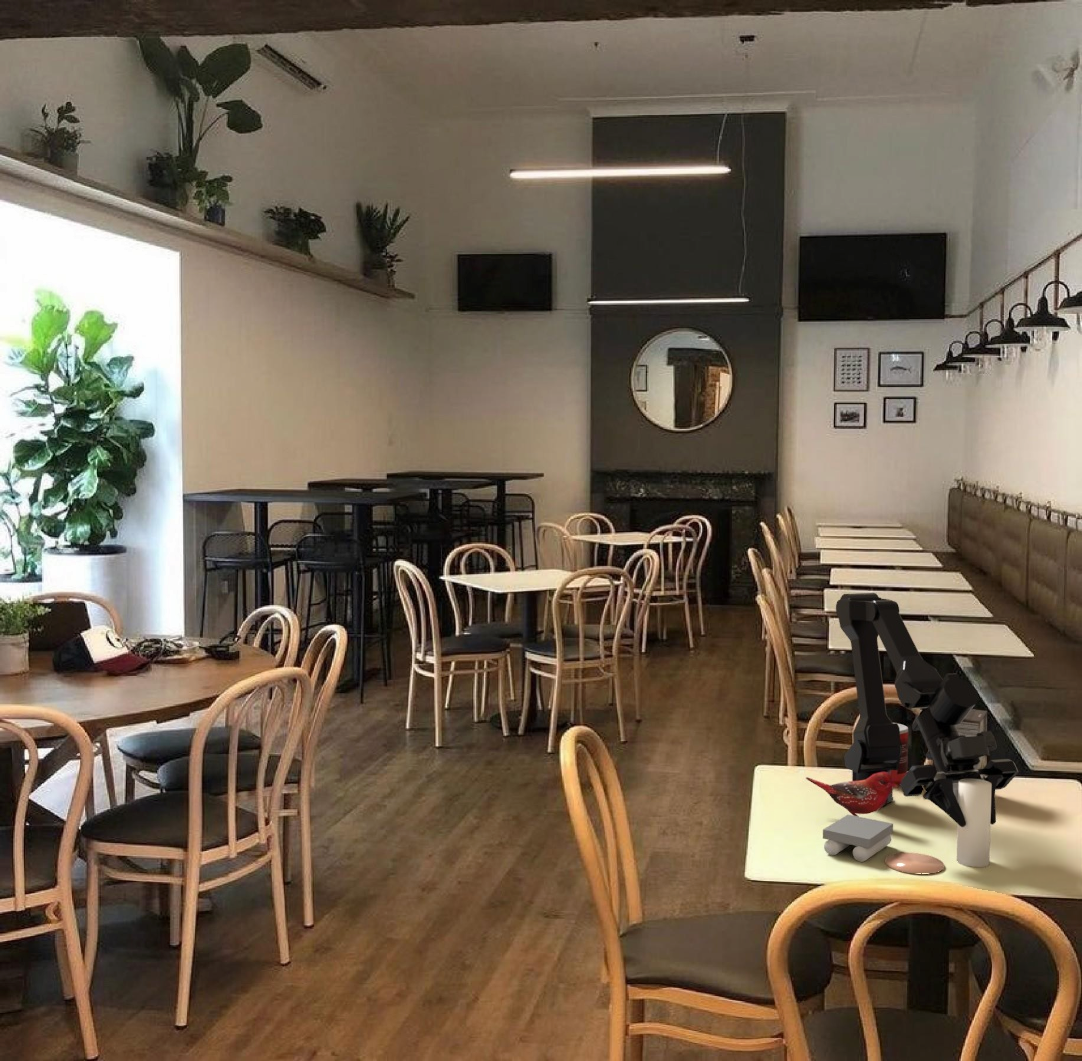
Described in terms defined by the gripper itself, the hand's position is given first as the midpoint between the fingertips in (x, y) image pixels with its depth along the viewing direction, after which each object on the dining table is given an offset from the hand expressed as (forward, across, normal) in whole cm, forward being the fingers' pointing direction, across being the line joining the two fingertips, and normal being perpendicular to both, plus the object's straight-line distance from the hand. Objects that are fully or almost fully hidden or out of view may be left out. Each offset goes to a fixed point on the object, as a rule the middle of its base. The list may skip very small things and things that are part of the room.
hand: (978, 824), depth 195 cm
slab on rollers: (-3, -15, +12) cm, 20 cm away
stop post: (+4, 0, +6) cm, 7 cm away
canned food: (-28, +10, +38) cm, 48 cm away
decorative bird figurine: (-13, -9, +23) cm, 28 cm away
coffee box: (-19, +19, +28) cm, 39 cm away
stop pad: (+3, -10, +6) cm, 12 cm away
